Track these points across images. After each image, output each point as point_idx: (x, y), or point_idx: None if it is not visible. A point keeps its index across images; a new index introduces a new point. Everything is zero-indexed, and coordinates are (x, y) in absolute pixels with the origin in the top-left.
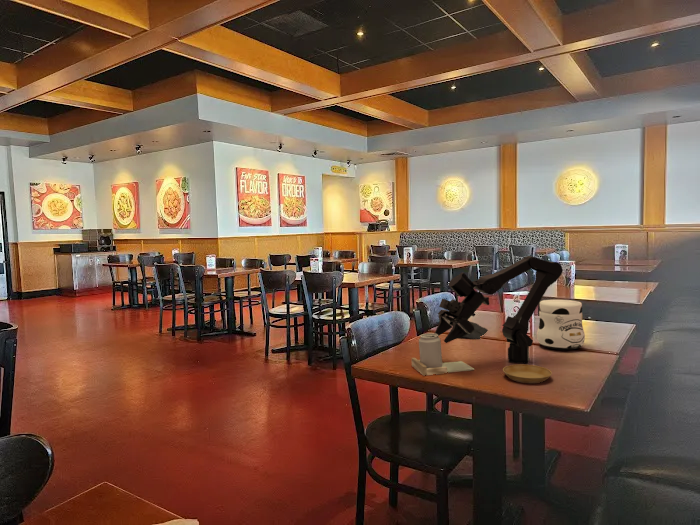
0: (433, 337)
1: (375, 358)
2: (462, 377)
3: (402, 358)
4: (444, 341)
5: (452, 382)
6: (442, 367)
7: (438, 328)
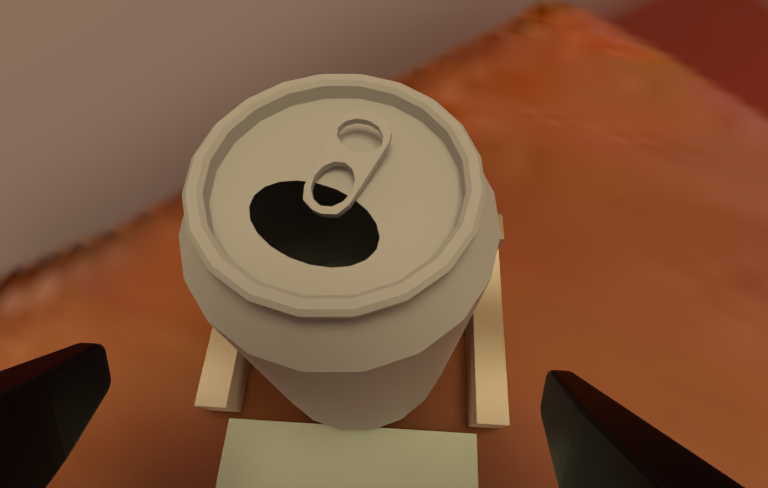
0: (187, 183)
1: (723, 110)
2: (57, 484)
3: (711, 259)
4: (84, 347)
5: (18, 346)
6: (218, 369)
7: (642, 482)
